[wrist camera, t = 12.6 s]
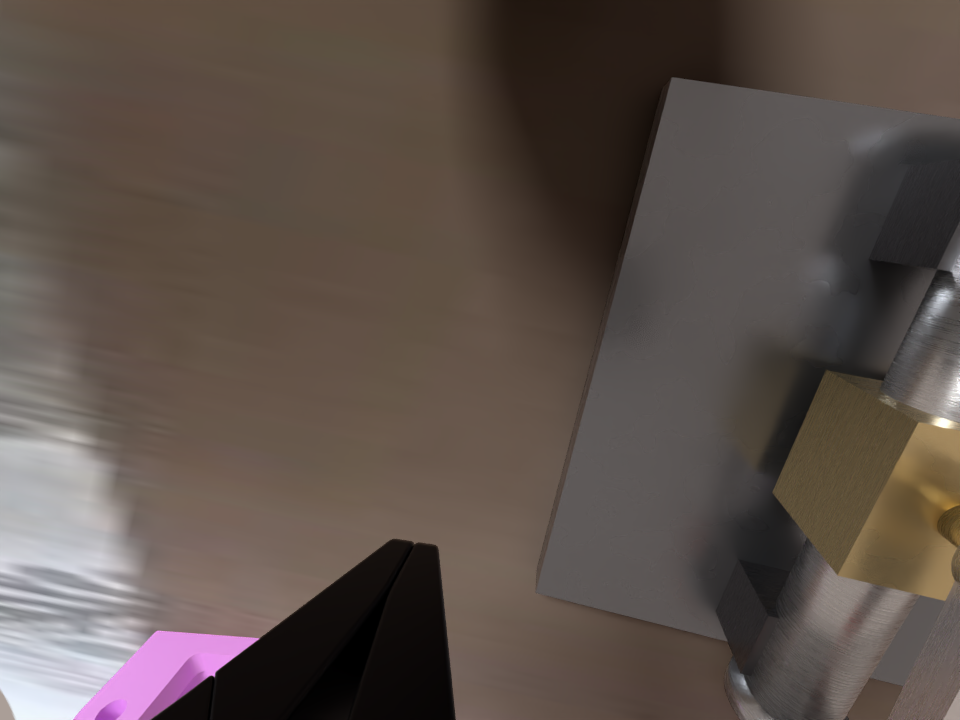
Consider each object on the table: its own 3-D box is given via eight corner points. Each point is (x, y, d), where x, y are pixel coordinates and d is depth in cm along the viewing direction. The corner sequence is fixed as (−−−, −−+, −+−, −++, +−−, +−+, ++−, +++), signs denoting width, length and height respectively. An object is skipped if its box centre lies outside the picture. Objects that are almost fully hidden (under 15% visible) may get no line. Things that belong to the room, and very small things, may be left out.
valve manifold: (661, 88, 17) (752, -17, 9) (1294, 182, 15) (2070, 149, 7) (536, 570, 24) (528, 737, 16) (953, 674, 22) (1165, 917, 14)
